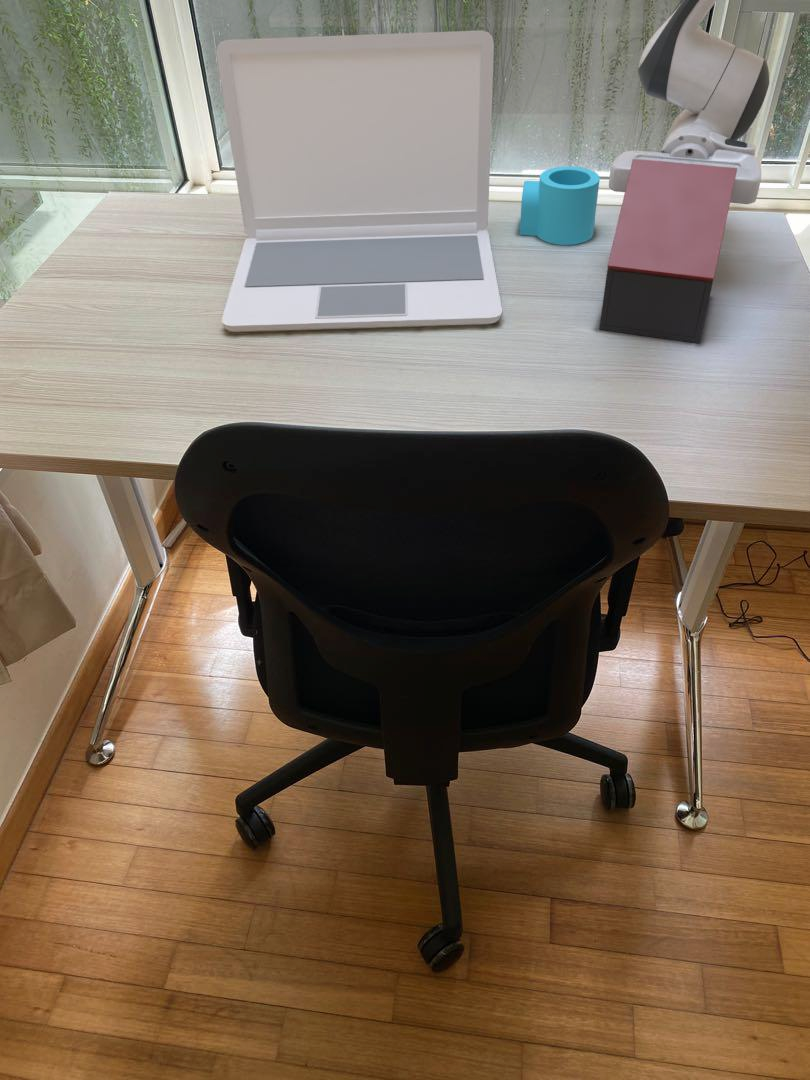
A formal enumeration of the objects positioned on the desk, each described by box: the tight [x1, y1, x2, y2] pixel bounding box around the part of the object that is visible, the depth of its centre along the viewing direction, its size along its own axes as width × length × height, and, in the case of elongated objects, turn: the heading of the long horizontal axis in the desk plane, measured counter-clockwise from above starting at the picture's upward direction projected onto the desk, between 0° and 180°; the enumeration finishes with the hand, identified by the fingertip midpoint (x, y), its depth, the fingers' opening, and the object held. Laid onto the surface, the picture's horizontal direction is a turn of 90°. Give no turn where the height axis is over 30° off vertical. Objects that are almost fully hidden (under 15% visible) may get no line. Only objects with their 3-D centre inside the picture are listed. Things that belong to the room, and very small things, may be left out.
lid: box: [607, 159, 737, 282], centre depth 116 cm, size 16×14×1 cm
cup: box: [519, 165, 601, 246], centre depth 143 cm, size 12×10×9 cm
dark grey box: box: [598, 268, 714, 344], centre depth 122 cm, size 14×14×9 cm
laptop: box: [216, 29, 503, 333], centre depth 124 cm, size 40×31×31 cm
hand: (677, 198), depth 117 cm, fingers closed
